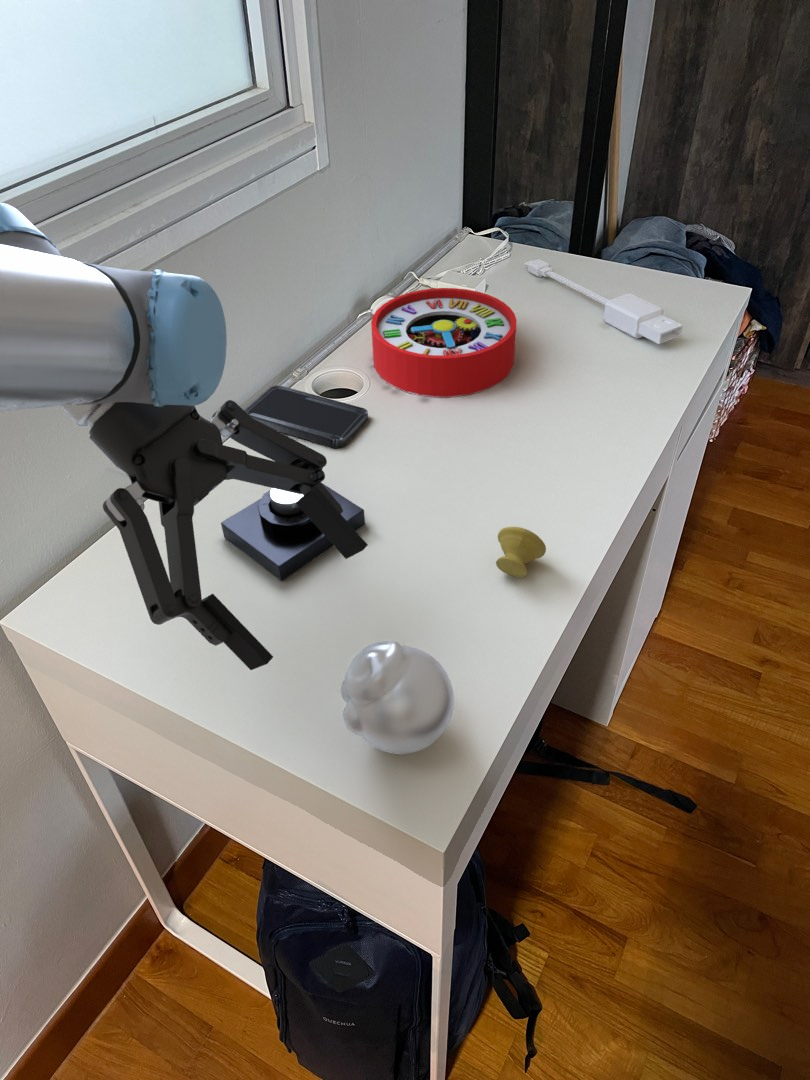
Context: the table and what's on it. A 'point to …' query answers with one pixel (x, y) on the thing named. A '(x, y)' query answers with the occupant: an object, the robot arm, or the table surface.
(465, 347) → the toy clock
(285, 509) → the stove button
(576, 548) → the table surface
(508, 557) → the knob
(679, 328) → the charging cable
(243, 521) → the panel
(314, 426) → the phone
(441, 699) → the ghost figurine
